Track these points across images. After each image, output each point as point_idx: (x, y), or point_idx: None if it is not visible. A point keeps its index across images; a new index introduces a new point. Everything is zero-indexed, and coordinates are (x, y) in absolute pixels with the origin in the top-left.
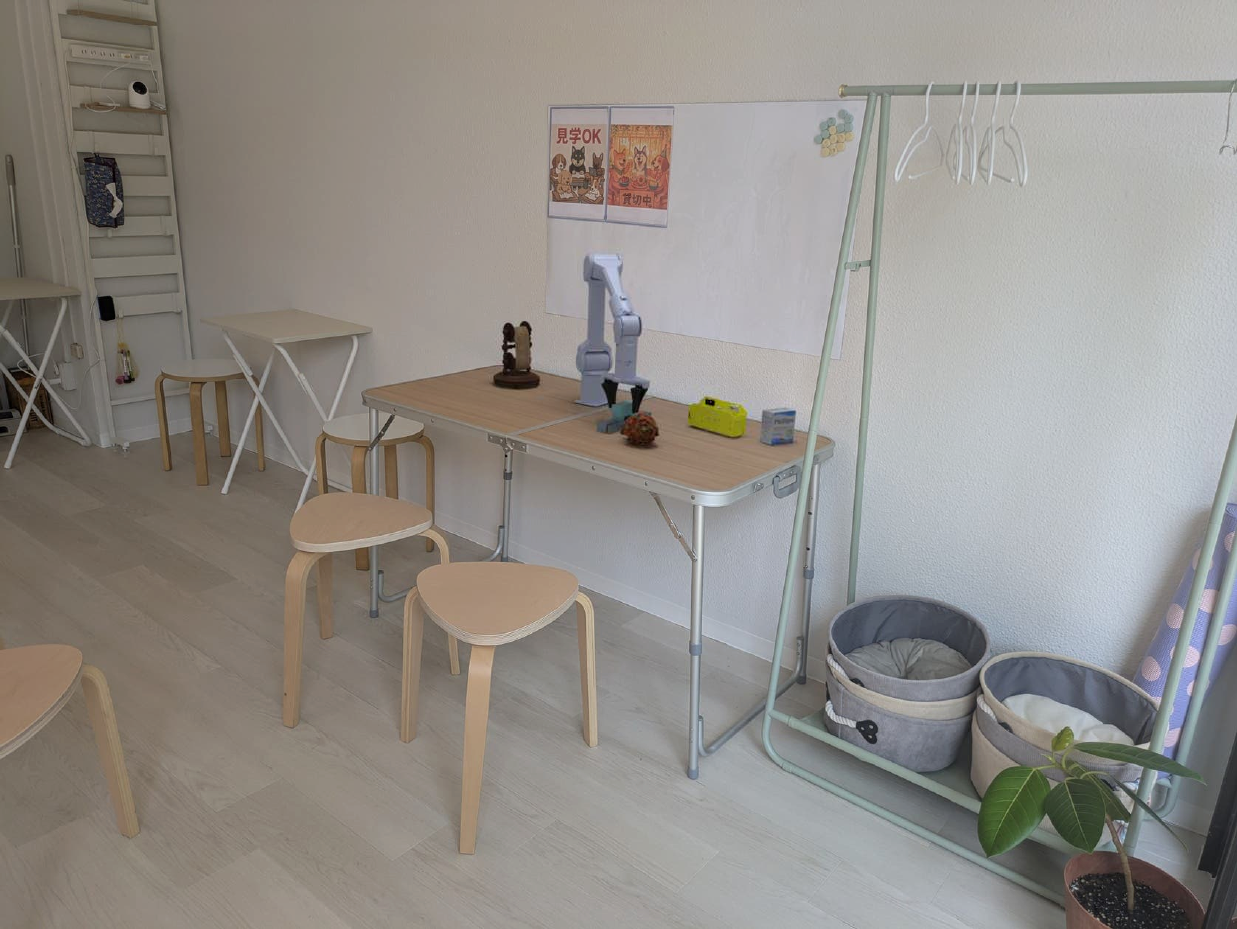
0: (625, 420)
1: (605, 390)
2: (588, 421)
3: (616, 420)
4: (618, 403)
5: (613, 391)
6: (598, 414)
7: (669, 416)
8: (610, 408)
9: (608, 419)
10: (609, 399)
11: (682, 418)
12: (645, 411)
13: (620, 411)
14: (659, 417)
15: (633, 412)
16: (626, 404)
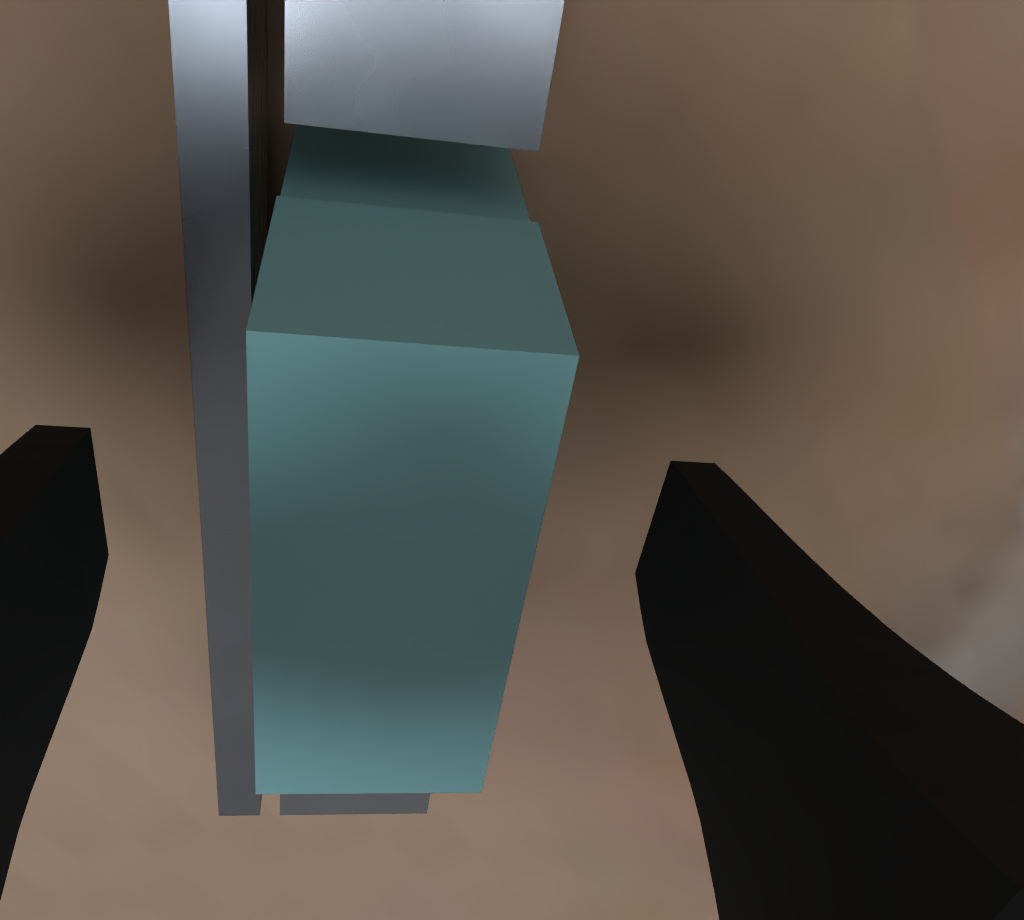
0: (199, 235)
1: (994, 742)
2: (982, 199)
3: (351, 114)
4: (498, 555)
5: (767, 841)
6: (917, 580)
7: (178, 896)
8: (678, 461)
9: (543, 78)
10: (761, 575)
11: (22, 913)
12: (307, 805)
13: (273, 261)
14: (232, 832)
15: (41, 432)
16: (289, 587)
